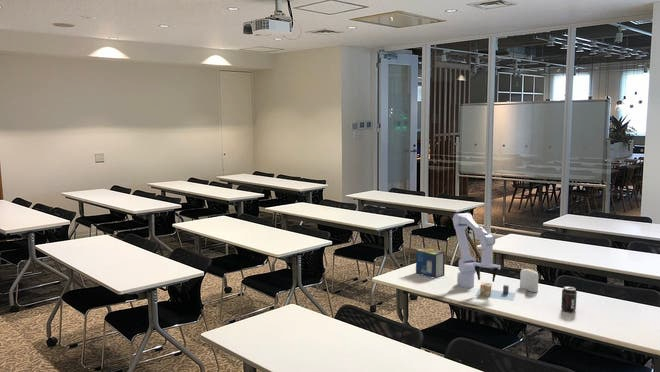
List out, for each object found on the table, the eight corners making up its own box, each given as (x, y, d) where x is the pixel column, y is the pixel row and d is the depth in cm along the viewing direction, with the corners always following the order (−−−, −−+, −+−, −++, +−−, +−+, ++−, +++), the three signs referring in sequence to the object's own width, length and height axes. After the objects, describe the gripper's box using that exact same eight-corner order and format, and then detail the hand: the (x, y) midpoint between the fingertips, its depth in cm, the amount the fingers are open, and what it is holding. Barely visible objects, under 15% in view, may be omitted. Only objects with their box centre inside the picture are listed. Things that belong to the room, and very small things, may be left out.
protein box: (426, 270, 344) (426, 247, 342) (444, 275, 332) (445, 251, 330) (415, 273, 338) (415, 249, 336) (433, 278, 326) (434, 254, 324)
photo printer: (518, 288, 305) (519, 268, 303) (522, 287, 307) (523, 267, 306) (535, 293, 297) (536, 272, 295) (539, 291, 299) (540, 270, 298)
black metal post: (503, 294, 291) (503, 286, 291) (503, 292, 294) (503, 284, 293) (507, 294, 290) (508, 286, 290) (508, 293, 293) (508, 285, 292)
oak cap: (480, 295, 289) (480, 284, 289) (481, 292, 294) (481, 282, 293) (489, 296, 287) (490, 286, 287) (491, 293, 292) (491, 283, 291)
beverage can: (577, 313, 265) (578, 290, 264) (562, 312, 266) (564, 289, 265) (573, 308, 272) (575, 286, 270) (559, 308, 273) (560, 285, 272)
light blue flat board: (475, 297, 289) (475, 295, 289) (479, 290, 302) (479, 288, 302) (513, 302, 281) (513, 300, 281) (515, 295, 294) (515, 293, 294)
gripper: (472, 256, 288) (471, 280, 289) (499, 259, 282) (498, 284, 283) (474, 253, 294) (473, 277, 295) (501, 256, 288) (500, 280, 289)
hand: (486, 280), depth 290 cm, fingers open, 7 cm apart
